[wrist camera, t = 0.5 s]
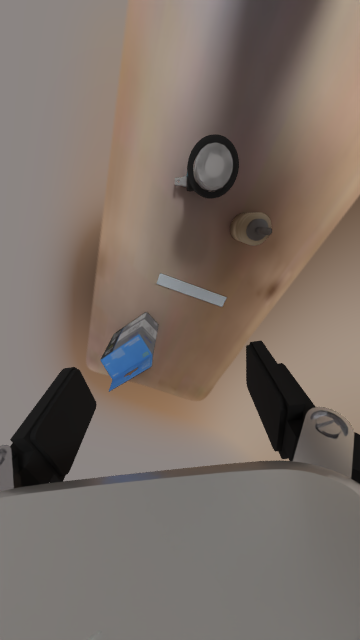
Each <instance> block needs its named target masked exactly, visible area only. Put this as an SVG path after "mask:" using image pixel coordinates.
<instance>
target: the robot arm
mask: <svg viewBox="0 0 360 640" xmlns="http://www.w3.org/2000/svg"><path fill="white" fill-rule="evenodd" d="M246 369H247V370H246V372H247V373H246V378H247V379H246V381H247V387H248V390H249V392H250V395H251V397H252V399H253V402H254V404H255V407H256V409H257V411H258V414H259V416H260V418H261V421H262V423H263V425H264V428H265V430H266V433H267V435H268V437H269V440H270V442H271V445H272V447H273V449H274V450H275V451H279V454H280V456H281V458H282V459H287V458H289V460H290V461H258V462H245V463H233V464H222V465H212V466H202V467H193V468H183V469H173V470H164V471H155V472H146V473H137V474H128V475H118V476H109V477H100V478H91V479H82V480H74V481H65V482H63V480H64V478H65V475H66V474H68V473H69V471H70V469H71V466H72V464H73V462H74V459H75V456H76V454H77V452H78V450H79V447H80V445H81V442H82V440H83V438H84V435H85V433H86V430H87V428H88V426H89V423H90V421H91V418H92V416H93V414H94V411H95V409H96V401H95V399H94V397H93V395H92V394H91V392H90V389H89V387H88V386H87V384H86V382H85V380H84V378H83V376H82V374H81V372H80V370H79V369H77V368H75V367H72V368H65V369H63V370H62V371H61V372H60V373H59V375H58V376H57V377H56V379H55V380H54V381H53V383H52V384H51V386H50V387H49V388H48V390H47V391H46V392H45V394H44V395H43V396H42V398H41V399H40V400H39V402H38V403H37V404H36V406H35V407H34V408H33V410H32V411H31V413H30V414H29V415H28V417H27V418H26V419H25V421H24V422H23V423H22V425H21V426H20V427H19V429H18V430H17V432H16V433H15V434H14V435H13V437H12V438H11V441H12V442H13V444H12V445H11V446H8V445H2V446H0V640H360V435H359V434H357V433H355V432H354V430H353V427H352V425H351V424H350V422H349V421H348V420H347V419H346V418H345V417H344V416H342V415H341V414H339V413H338V412H336V411H334V410H332V409H328V408H325V407H315V406H314V405H313V403H312V402H311V400H310V399H309V397H308V396H307V395H306V393H305V392H304V391H303V389H302V388H301V387H300V385H299V384H298V383H297V381H296V380H295V378H294V377H293V376H292V374H291V373H290V372H289V370H288V369H287V368H286V366H285V365H284V364H282V363H281V364H277V362H276V361H275V359H274V358H273V357H272V355H271V354H270V352H269V351H268V350H267V348H266V346H265V345H264V344H263V342H262V341H255V342H250V345H247V346H246ZM49 482H50V483H49Z"/></svg>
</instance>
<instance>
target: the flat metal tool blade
mask: <svg viewBox="0 0 360 640" xmlns="http://www.w3.org/2000/svg"><path fill="white" fill-rule="evenodd" d="M157 284H159V285H161V286H164V287H167V288H170V289H173V290H176V291H178V292H181V293H184V294H187V295H190V296H192V297H195V298H198V299H201V300H204V301H207V302H209V303H212V304H215V305H218V306H221V307H222V306H223V304H224V302H225V300H226V298H227V297H224V296H222V295H219V294H216V293H213V292H211V291H208V290H205V289H202V288H200V287H197V286H194V285H192V284H189V283H186V282H183V281H181V280H178V279H175V278H172V277H170V276H167V275H164V274H162V273H160V275H159V278H158V281H157Z"/></svg>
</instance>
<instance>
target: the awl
mask: <svg viewBox="0 0 360 640" xmlns="http://www.w3.org/2000/svg"><path fill="white" fill-rule="evenodd" d="M230 233H231V235H232V237H233V238H234V239H236V240H238V241H240V242H243V243H246V244H248V245H252V246H255V245H259V244H261V243H263V242H264V241H265V240H266V239H267V238H268V236H269V235H270V234H271V233H272V229H271V221H270V219H269V217H268V216H267V215H266V214H264V213H260V212H257V213H242V214H239V215H237V216H236V217H235V218H234V219H233V221H232V222H231V225H230Z"/></svg>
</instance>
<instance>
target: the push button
mask: <svg viewBox="0 0 360 640" xmlns="http://www.w3.org/2000/svg"><path fill="white" fill-rule="evenodd" d="M197 155H198V156H197ZM196 156H197V158H196ZM195 158H196V160H195ZM194 160H195V168H194V171H193V164H194ZM238 168H239V159H238V154H237V151H236V149H235V147H234V145H233V144H232V143H231V141H230V140H228V139H227V138H226V137H224V136H221V135H209V136H206V137H204V138H202V139H201V140H200V141H199V142H198V143H197V144H196V145H195V146H194V148H193V150H192V151H191V154H190V156H189V160H188V167H187V176H183V178H175V185H176V186H179V185H183V187H187V191H195V192H196V193H198V194H199V195H200V196H202V197H205V198H217V197H220V196H222V195H223V194H225V193H226V192H227V191H228V190H229V189H230V188H231V187H232V185H233V184H234V182H235V180H236V177H237V174H238ZM178 180H179V181H180V183H178V182H177V181H178ZM210 190H212V191H215V192H208V191H210Z"/></svg>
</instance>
